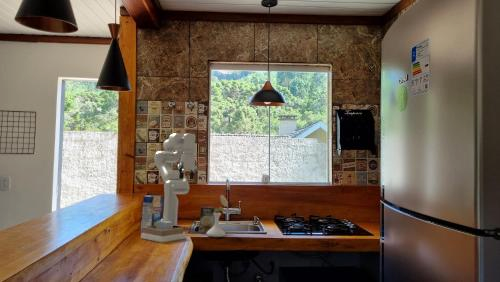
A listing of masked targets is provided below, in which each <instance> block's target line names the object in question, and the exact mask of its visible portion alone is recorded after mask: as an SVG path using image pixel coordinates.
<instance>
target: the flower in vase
mask: <svg viewBox="0 0 500 282" xmlns="http://www.w3.org/2000/svg"><path fill="white" fill-rule="evenodd" d="M219 199H220V202H221V203H220V205H219V208H217V207H215V210H216V213H213V214H214V217H215V224H214V226H213V227H212V228H211V229H210V230H209V231H208V232H207V233H205V234H206V235H207V236H209V237H212V238H222V237H225V235H226V232H225V231H224V230H223V229H222V228H221V227H220V225H219V221H220V217H221V215H222V213H221V212H223V211H224V208H225V207H226V208H228V206H229V205H228V204H229V202H228V200H227V198H226V197H225V195H224V194H221V195H220V197H219ZM221 205H222V206H224V208H223V207H222V206H221ZM220 211H221V212H220Z"/></svg>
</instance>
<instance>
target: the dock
mask: <svg viewBox="0 0 500 282" xmlns="http://www.w3.org/2000/svg"><path fill="white" fill-rule="evenodd" d="M184 229H185V228H184V227H174V228H173V229H168V230H159V229H156V225H155V226H146V227H142V232H141V231H140V233H141V234H140V238H141V239H142V240H143V239H144V240H150V241H153V242H158V243H164V242H172V241H177V240H182V239H183V240H184V239H186V232H184Z"/></svg>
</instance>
